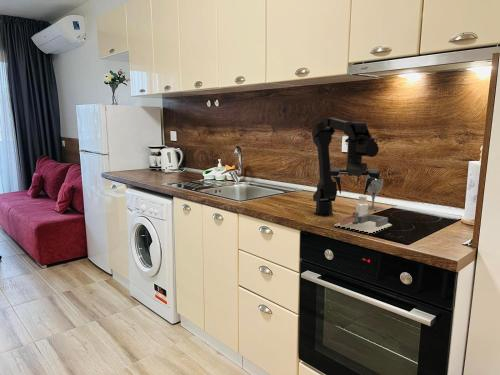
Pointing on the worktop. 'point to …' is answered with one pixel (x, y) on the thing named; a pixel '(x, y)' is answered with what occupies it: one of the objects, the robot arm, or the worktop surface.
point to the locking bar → (350, 219)
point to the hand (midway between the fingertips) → (352, 194)
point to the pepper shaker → (362, 206)
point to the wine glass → (375, 190)
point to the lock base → (368, 223)
